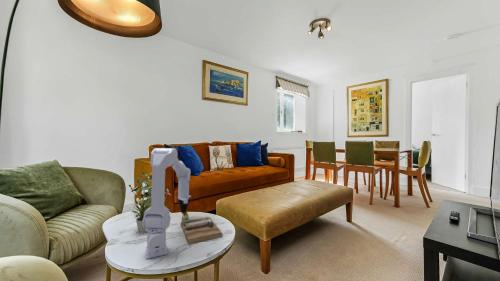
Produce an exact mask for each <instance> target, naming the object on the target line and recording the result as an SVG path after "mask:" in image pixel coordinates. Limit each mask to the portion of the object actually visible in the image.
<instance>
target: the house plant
mask: <svg viewBox="0 0 500 281" xmlns="http://www.w3.org/2000/svg"><path fill="white" fill-rule="evenodd" d="M133 204H134V206H133V208H134V209H137V211H136V210H132V211H130V212H131V213H135V221H136V226H137V232H138V233H147V231H145V228H143V225H142V221H143V217H144V212H145V211H146V210H147V209H148V208H150V207H151V198H149V199H148V200H147V202H146V204H145V202H144V198H142V199H141V200H140V204H138V203H133Z"/></svg>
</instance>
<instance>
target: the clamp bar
mask: <svg viewBox="0 0 500 281" xmlns="http://www.w3.org/2000/svg"><path fill="white" fill-rule="evenodd" d="M211 220H212V219H211ZM211 220H210V219H209V218H208V219H207V220H202V221H197V222H192V223H187V224H186V227H187V228H190V227H194V226H199V225H204V224H209V222H212V221H213V220H212V221H211Z"/></svg>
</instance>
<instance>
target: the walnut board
mask: <svg viewBox="0 0 500 281" xmlns="http://www.w3.org/2000/svg"><path fill="white" fill-rule="evenodd" d="M208 218H209V219H210V220H211V221H212V222H209V224H204V225H199V226H194V227H190V228H187V227H186V224H187V223H192V222H197V221H202V220H207V219H208ZM180 227H181V229H182V232H183V235H184V238H185V239H186V242H187V245H190V244H195V243H199V242H204V241H207V240H212V239H217V238H221V237H222V236H223V232H222V231H221V229H220V228H219V227H218V226H217V224H216V223H215V222H214V221H213V220H212V218H211V217H210V216H205V217H200V218H194V219H185V220H184V219H183V217H182V216H181V221H180Z"/></svg>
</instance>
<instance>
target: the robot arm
mask: <svg viewBox="0 0 500 281" xmlns="http://www.w3.org/2000/svg"><path fill="white" fill-rule="evenodd" d="M178 156H179V155H178V150H177V149H176V148H174V147H173V148H172V147H171V148H170V147H169V148H166V147H161V148H160V147H159V148H158V147H155V148H153V149H152V151H151V152H150V166H151V167H152V169H151V172H152V173H151V193H150V194H151V199H150V202H151V205H150V206H151V207H150V208H148V209H147V210H146V211H145V212H144V217H143V221H142V225H143V228H145V231H146V244H147V245H146V246H145V259H147V260H148V259H152V258H157V257H160V256H165V255H168V251H169V250H168V247H167V240H166V238H167V234H166V233H167V231H166V230H167V229H168V228H169V227H170V224H171V214H170V213H171V212H170V209H169V208H168V207H166V205H165V195H166V194H165V193H166V192H165V190H166V189H165V188H166V169H167V168H168V167H171V166H172V169H173V170H174V171H175V174H176V178H177V179H178V180H177V182H178V184H177V185H178V189H177V193H178V194H177V195H178V196H177V201H178V205H179V208H180V212H181V214H182V213H183V212H187V209H188V206H189V203H190V200H189V199H190V198H192V195H189V194H190V179H191V173H192V172H191V168H189V167H187V166H186V165H185V163H184V162H183V161H182V160H179V158H178Z"/></svg>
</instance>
